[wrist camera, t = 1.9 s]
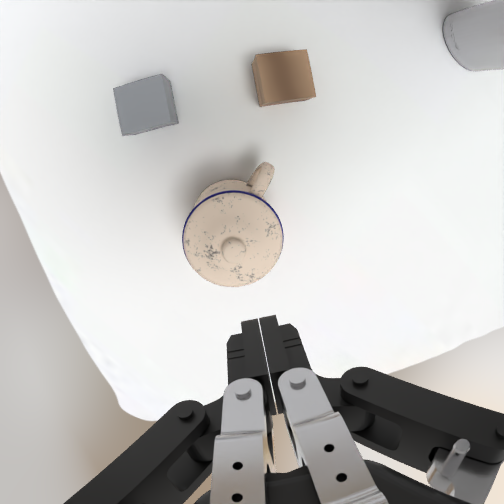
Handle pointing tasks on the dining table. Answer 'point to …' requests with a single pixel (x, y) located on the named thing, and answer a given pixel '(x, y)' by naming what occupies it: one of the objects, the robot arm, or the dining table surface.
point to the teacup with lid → (234, 231)
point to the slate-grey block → (145, 105)
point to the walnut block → (283, 77)
